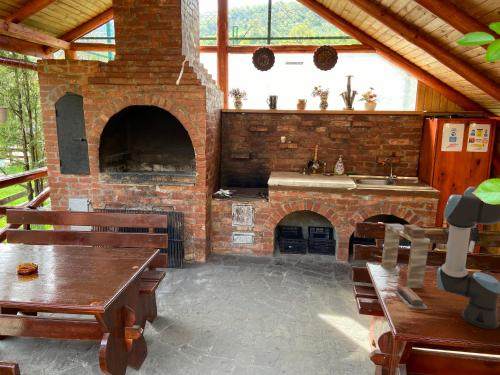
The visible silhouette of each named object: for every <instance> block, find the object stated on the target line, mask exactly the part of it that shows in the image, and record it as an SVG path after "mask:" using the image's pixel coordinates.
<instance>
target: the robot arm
mask: <svg viewBox="0 0 500 375" xmlns="http://www.w3.org/2000/svg"><path fill="white" fill-rule="evenodd" d="M476 188H477V187H476V186H469V187H467V189H465V191H464V192H463V195H462V194H451V195H450V196H449V198H448V199H447V203H446V205H445V208H444V212H443V218H445V219H446V223H447V224H448V225H449V227H447V229H446V230H445V234H446V235H447V238H446V240H447V243H446V247H447V248H446V257H445V263H443V264H442V265H441V266H439V267H438V269H437V274H436V285H437V288H438V289H439V290H440V291H444V292H446V293H449V294H454V295H456V296H457V295H458V296H461V297H464V298H467V299H468V302H467V304H466V305H465V307H464V309H463V310H462V314H461V318H462V319H463V320H464V321H465V322H466V323H468V324H471V326H474V327H476V328H477V327H478V328H480V329H481V328H482V329H484V330H485V329H486V330H496V329H497V328H498V327H499V318H498V313H497V309H498V303H499V297H500V281H499V280H498V279H497V278H495V277H494V276H492V275H489V274H487V273H483V272H476V271H475V272H473V274H471V273H469V270H468V268H466V262H467V255H468V252H469V253H471V254H473V252H474V248H475V247H476V245H477V243H479V242H481V237H480V236H481V235H480V231H479V228H480V227H479V226H480V225H479V224H481V225H494V224H496V225H497V224H498V223H499V224H500V205H490V204H486V203H484V202H483V201H481V200H480V199H479V198H478V197H476V196H475V195H473V194H472V193H471V192H472V191H474V190H475V189H476ZM470 238H471V240H470ZM469 241H470V242H469Z"/></svg>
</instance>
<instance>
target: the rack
mask: <svg viewBox="0 0 500 375" xmlns="http://www.w3.org/2000/svg"><path fill="white" fill-rule="evenodd" d="M403 230H404V225H402V224H400V223H385V230H384V238H383V250H382V256H381V264H380V267H381V268H383V269H394V268H397V260H398V253H399V247H400V246H399V245H400V237H403V238H404V239H406V240H408V241H409V242H411V243H410V251H409V259H408V267H407V272H406V273H407V274H406V281H405V287H409V288H410V289H412V288H413V289H417V288H419V289H421V288H423V287H424V286H423V285H424V280H425V273H426V266H427V260H428V252H429V251H428V250H429V245H430V242H431V239H430V238H428V237H427V236H424V238H412V237H410V236H408V235H407V234H405V233H403Z"/></svg>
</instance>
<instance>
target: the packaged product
mask: <svg viewBox="0 0 500 375" xmlns="http://www.w3.org/2000/svg"><path fill="white" fill-rule="evenodd" d="M393 292H394V294H395V295H396V296H397V298H398V299H399V300H400V299H401V300H400V302H402V303H403V304H404V305H405V306H406V307H407V309H411V310H412V309H413V310H417V309H418V310H427V309H428V307H427V306H426V305H425V304H424V301H423V299H422V298H421V297H420V296H419V295H418V294H416V292H414V291H413V290H412V288H409V287H407V286H401V285H400V286H398V287H397V290H394V291H393Z"/></svg>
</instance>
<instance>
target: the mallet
mask: <svg viewBox="0 0 500 375" xmlns="http://www.w3.org/2000/svg"><path fill="white" fill-rule="evenodd" d="M403 226H404V230H403V233H405V234H407V235H408V236H410V237H412V238H424V237H425V235H443V234H444V229H443V228H422V227H420V226H419V225H416V224H403Z"/></svg>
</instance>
